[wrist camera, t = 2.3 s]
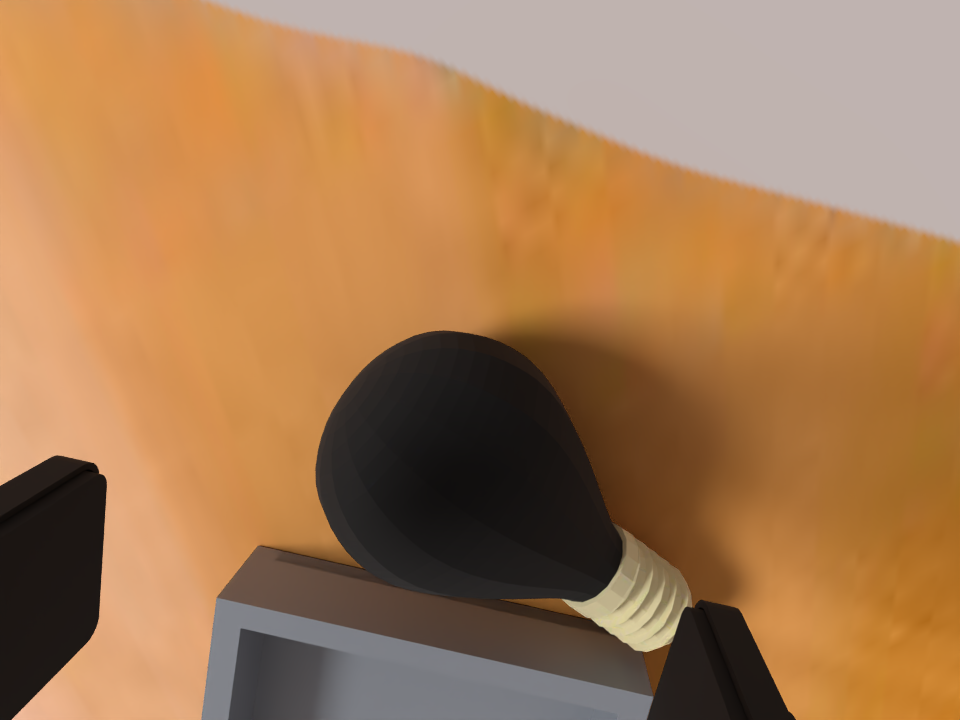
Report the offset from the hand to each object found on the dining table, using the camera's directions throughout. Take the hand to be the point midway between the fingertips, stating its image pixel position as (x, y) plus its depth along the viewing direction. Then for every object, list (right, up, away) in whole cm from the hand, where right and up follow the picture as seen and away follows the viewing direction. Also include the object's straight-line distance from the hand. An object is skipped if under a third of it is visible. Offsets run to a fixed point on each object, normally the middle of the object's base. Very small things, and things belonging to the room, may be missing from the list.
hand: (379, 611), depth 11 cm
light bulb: (+3, 0, +11) cm, 11 cm away
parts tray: (-1, -9, +13) cm, 16 cm away
